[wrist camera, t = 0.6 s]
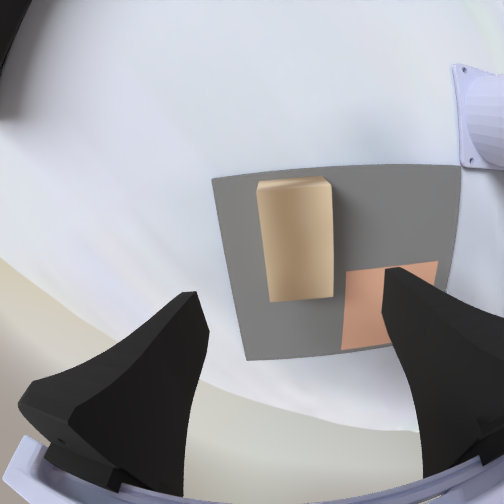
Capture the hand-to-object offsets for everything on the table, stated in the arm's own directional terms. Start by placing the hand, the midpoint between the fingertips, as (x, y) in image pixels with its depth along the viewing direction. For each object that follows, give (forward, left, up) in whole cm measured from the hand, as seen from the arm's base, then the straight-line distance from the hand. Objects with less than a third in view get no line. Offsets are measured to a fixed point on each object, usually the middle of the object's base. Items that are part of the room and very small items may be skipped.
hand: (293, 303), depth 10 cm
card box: (-1, +1, -9) cm, 9 cm away
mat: (-5, +5, -9) cm, 11 cm away
